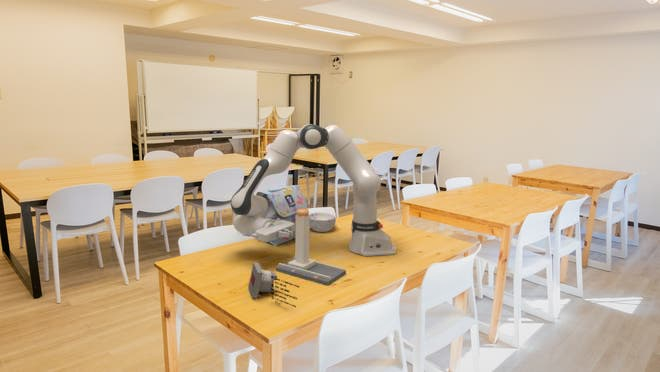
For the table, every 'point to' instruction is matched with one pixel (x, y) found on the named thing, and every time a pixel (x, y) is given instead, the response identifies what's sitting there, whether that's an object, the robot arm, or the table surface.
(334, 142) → the robot arm
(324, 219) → the paper bowls
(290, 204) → the lunch bag
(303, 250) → the slider handle
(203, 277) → the table surface
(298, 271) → the slider track
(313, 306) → the table surface
